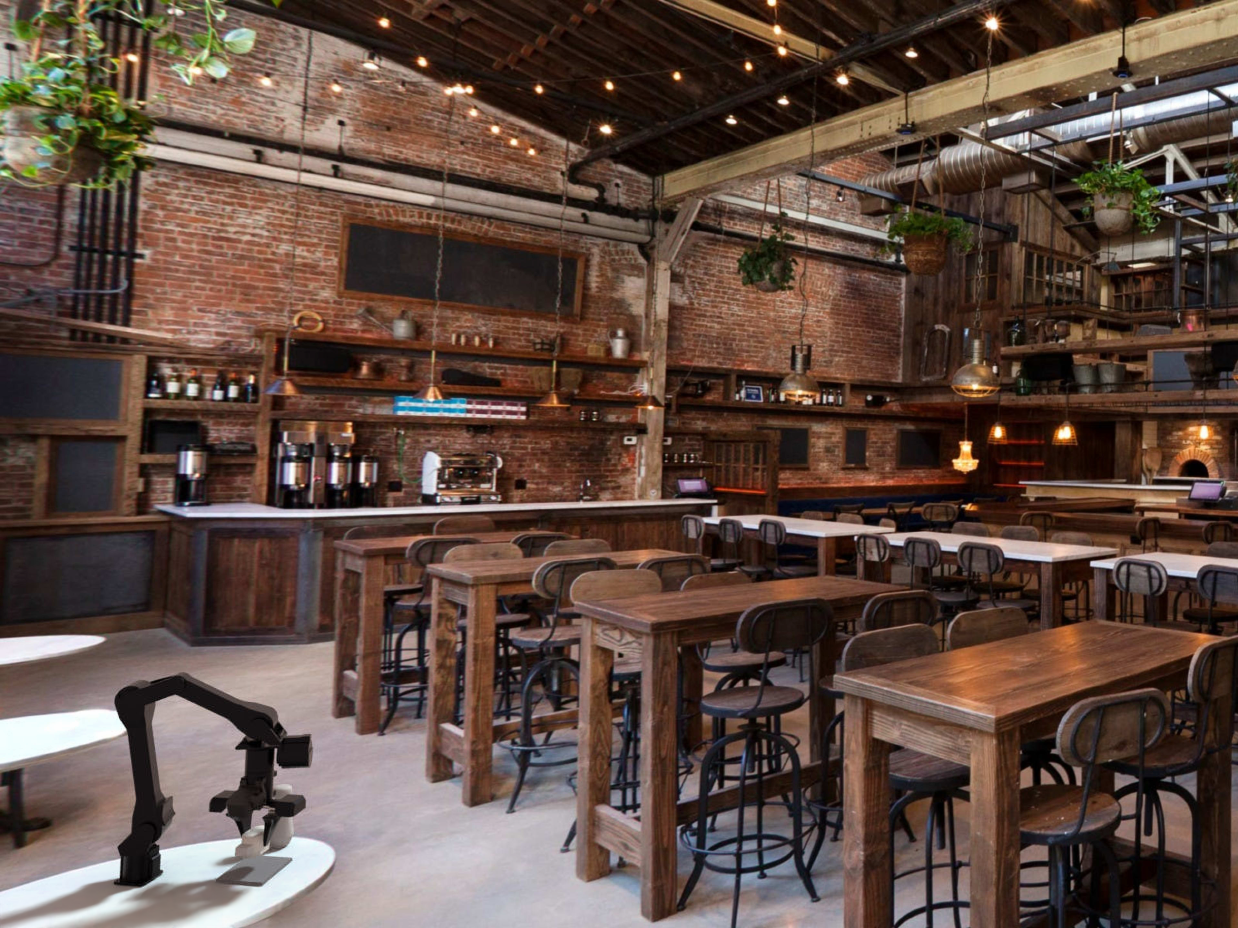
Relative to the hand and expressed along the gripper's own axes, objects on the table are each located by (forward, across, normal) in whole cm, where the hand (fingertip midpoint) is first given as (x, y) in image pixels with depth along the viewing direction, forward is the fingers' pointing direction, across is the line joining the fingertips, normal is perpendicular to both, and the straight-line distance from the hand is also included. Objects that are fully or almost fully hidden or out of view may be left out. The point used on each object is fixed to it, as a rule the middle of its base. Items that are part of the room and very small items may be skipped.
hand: (255, 844), depth 172 cm
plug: (+1, 0, 0) cm, 1 cm away
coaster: (+5, 0, 0) cm, 5 cm away
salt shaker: (+6, -2, +14) cm, 15 cm away
